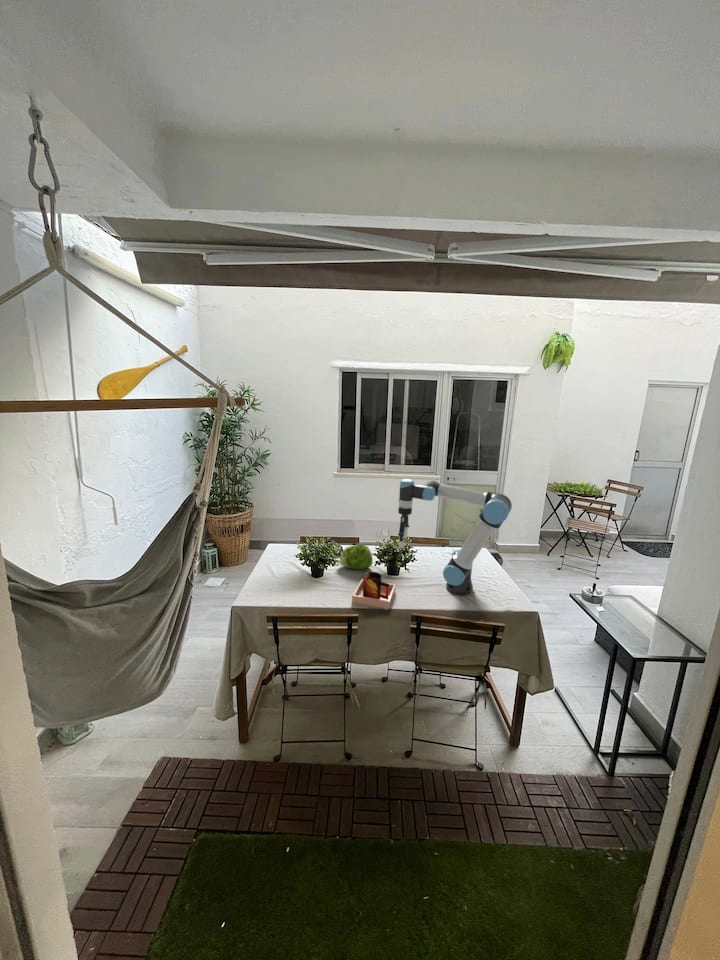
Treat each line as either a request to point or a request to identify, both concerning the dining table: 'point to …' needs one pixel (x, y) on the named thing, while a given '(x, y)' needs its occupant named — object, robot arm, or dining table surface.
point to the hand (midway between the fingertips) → (402, 542)
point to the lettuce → (356, 557)
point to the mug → (374, 586)
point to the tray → (372, 602)
